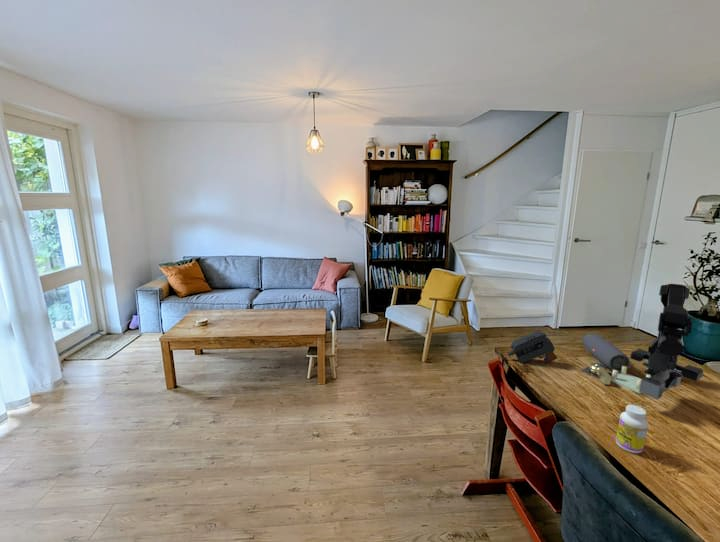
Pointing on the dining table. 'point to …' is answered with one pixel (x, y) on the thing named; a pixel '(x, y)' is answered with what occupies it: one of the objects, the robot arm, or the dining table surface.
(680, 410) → the dining table surface
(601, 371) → the brass door handle
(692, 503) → the dining table surface
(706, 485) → the dining table surface
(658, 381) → the grey bone-shaped bar
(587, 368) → the flange
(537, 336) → the tool
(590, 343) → the bluetooth speaker
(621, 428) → the supplement bottle
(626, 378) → the rack
